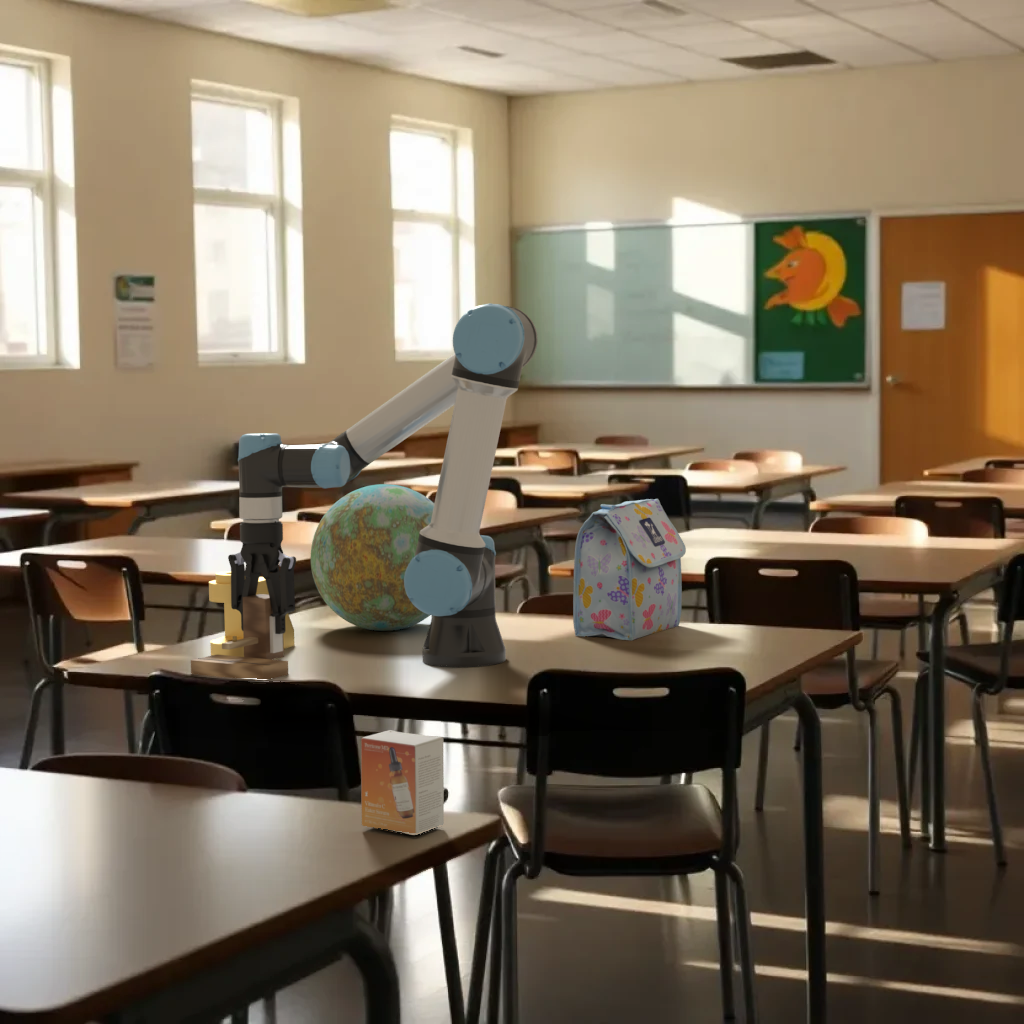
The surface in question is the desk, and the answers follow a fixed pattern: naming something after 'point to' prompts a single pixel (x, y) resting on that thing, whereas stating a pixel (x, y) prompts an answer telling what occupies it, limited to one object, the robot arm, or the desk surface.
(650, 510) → the lunch bag
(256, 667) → the board
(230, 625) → the clamp
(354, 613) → the decorative globe
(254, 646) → the taupe upright block
